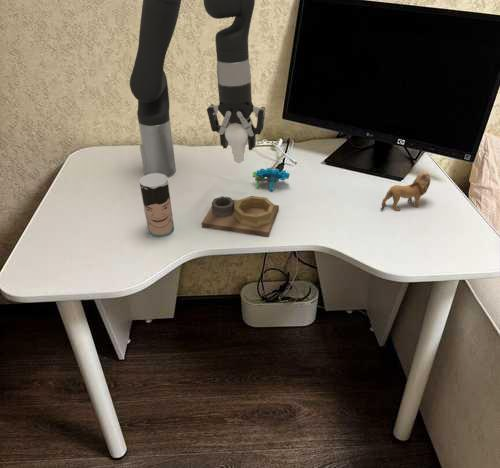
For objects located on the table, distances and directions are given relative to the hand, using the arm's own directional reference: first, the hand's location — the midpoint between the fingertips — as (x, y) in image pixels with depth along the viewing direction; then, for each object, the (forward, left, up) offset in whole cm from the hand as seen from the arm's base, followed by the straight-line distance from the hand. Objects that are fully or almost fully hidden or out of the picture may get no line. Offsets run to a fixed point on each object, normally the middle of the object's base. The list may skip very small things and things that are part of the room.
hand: (238, 147), depth 113 cm
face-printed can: (-19, -11, -21) cm, 30 cm away
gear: (+4, +18, -21) cm, 28 cm away
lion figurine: (+43, +16, -21) cm, 50 cm away
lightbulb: (0, 0, -4) cm, 4 cm away
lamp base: (0, -1, -20) cm, 20 cm away
